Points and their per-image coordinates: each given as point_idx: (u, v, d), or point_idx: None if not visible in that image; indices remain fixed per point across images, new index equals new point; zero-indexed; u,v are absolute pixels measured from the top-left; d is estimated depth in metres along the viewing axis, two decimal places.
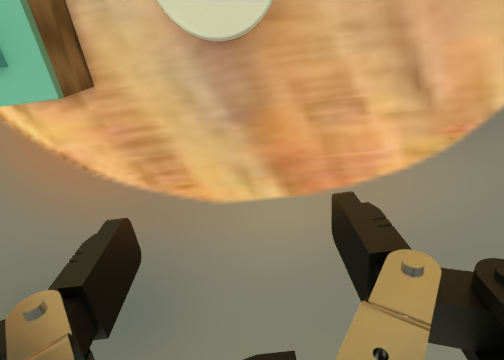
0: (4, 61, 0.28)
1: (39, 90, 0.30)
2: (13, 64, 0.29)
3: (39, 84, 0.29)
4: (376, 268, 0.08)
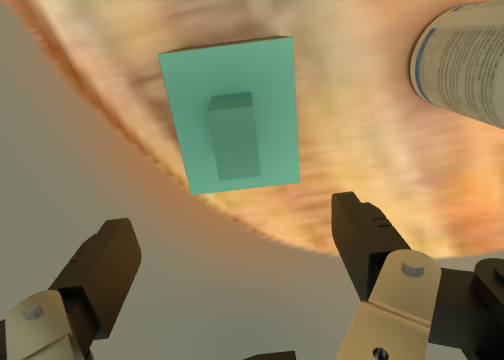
0: None
1: (282, 174, 0.27)
2: (264, 149, 0.26)
3: (284, 168, 0.27)
4: (376, 268, 0.08)
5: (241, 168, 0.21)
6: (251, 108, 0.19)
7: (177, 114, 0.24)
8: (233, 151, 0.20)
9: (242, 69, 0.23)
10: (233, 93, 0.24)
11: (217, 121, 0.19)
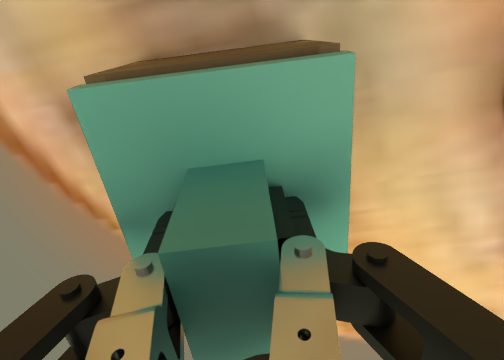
0: None
1: None
2: None
3: None
4: None
5: (245, 351, 0.09)
6: (273, 244, 0.07)
7: (119, 200, 0.12)
8: (227, 325, 0.09)
9: (247, 118, 0.11)
10: (228, 163, 0.12)
11: (187, 272, 0.08)
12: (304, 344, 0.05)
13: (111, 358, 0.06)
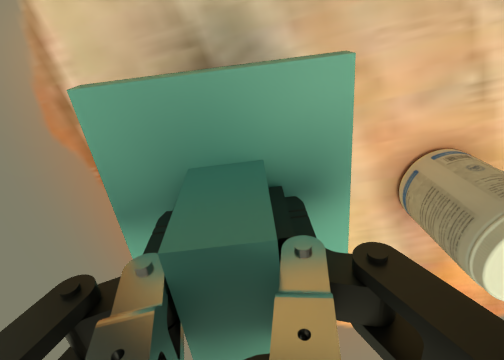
0: None
1: None
2: None
3: None
4: None
5: (245, 352, 0.09)
6: (273, 245, 0.07)
7: (120, 200, 0.12)
8: (227, 325, 0.09)
9: (247, 118, 0.11)
10: (228, 163, 0.12)
11: (188, 272, 0.08)
12: (304, 343, 0.05)
13: (111, 358, 0.06)
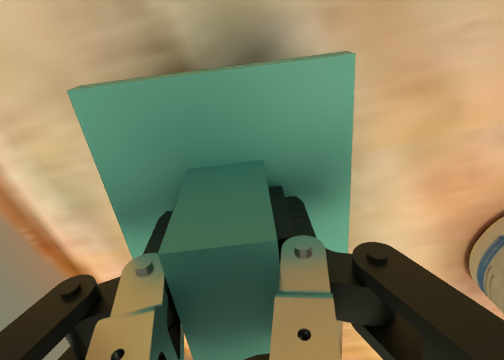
0: None
1: None
2: None
3: None
4: None
5: (245, 352, 0.09)
6: (273, 245, 0.07)
7: (120, 200, 0.12)
8: (227, 325, 0.09)
9: (247, 118, 0.11)
10: (228, 163, 0.12)
11: (188, 272, 0.08)
12: (304, 343, 0.05)
13: (111, 358, 0.06)
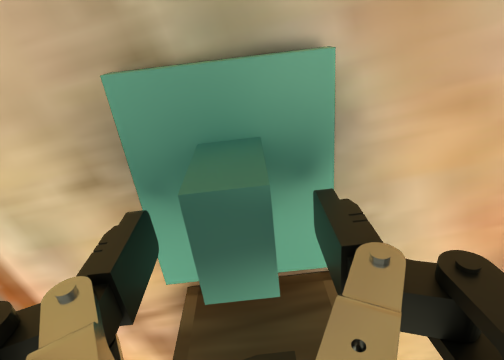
0: None
1: (306, 256, 0.17)
2: (279, 221, 0.16)
3: (310, 248, 0.17)
4: (348, 260, 0.09)
5: (244, 286, 0.12)
6: (266, 189, 0.10)
7: (139, 171, 0.15)
8: (229, 260, 0.11)
9: (247, 101, 0.13)
10: (231, 139, 0.14)
11: (200, 211, 0.10)
12: (356, 355, 0.05)
13: None
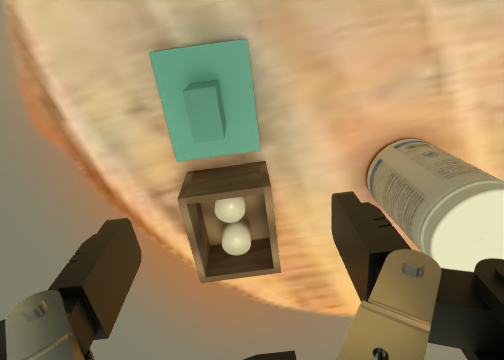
0: (225, 122, 0.33)
1: (246, 144, 0.35)
2: (231, 124, 0.34)
3: (247, 139, 0.35)
4: (376, 268, 0.08)
5: (209, 133, 0.29)
6: (214, 88, 0.27)
7: (164, 97, 0.32)
8: (202, 120, 0.28)
9: (211, 62, 0.31)
10: (205, 80, 0.32)
11: (190, 98, 0.28)
12: None
13: None
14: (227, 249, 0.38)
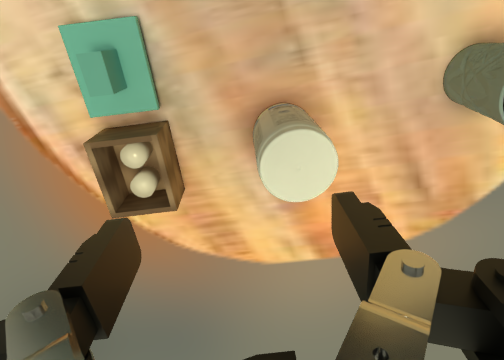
0: (125, 84, 0.42)
1: (145, 103, 0.43)
2: (131, 86, 0.42)
3: (146, 99, 0.43)
4: (376, 268, 0.08)
5: (101, 89, 0.37)
6: (100, 52, 0.35)
7: (74, 63, 0.40)
8: (94, 78, 0.37)
9: (109, 35, 0.39)
10: (105, 50, 0.40)
11: (82, 59, 0.36)
12: None
13: None
14: (135, 191, 0.46)
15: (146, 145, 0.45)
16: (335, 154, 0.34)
